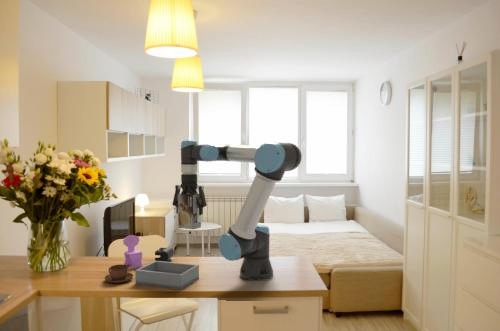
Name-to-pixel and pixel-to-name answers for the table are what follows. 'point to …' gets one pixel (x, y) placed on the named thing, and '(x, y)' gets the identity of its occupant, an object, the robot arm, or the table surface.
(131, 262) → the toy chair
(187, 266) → the walled bin
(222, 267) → the table surface
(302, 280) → the table surface
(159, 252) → the end cap
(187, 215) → the coffee box
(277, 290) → the table surface
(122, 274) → the cup and saucer
